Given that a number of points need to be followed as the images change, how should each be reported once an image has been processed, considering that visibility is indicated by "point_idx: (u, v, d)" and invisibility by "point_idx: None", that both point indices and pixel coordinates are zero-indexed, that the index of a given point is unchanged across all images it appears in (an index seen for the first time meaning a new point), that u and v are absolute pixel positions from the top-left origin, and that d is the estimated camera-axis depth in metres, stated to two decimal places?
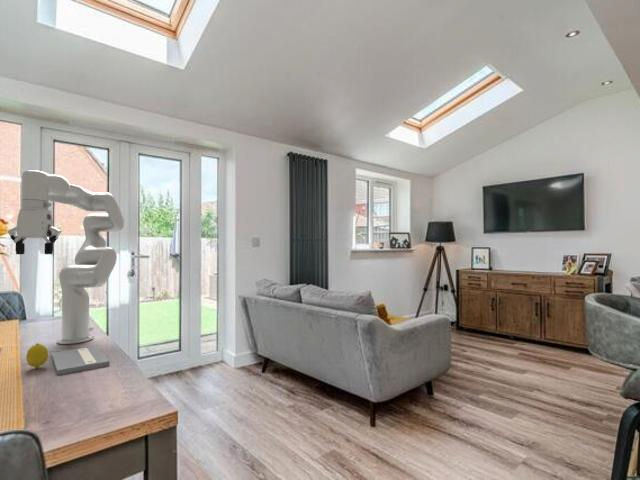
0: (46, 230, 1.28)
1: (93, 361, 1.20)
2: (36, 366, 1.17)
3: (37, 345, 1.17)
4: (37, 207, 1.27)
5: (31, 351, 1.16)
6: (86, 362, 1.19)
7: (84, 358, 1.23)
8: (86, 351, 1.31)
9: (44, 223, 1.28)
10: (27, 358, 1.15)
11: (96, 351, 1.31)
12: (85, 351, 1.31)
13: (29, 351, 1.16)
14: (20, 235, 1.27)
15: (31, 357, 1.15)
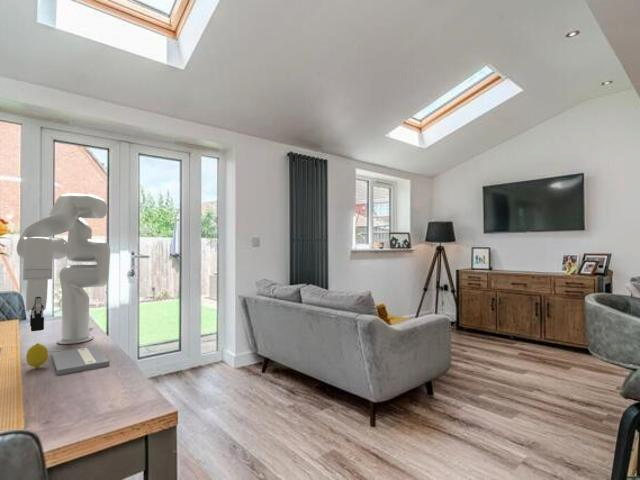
0: None
1: (93, 361, 1.20)
2: (36, 366, 1.17)
3: (37, 345, 1.17)
4: None
5: (31, 351, 1.16)
6: (86, 362, 1.19)
7: (84, 358, 1.23)
8: (86, 351, 1.31)
9: None
10: (27, 358, 1.15)
11: (96, 351, 1.31)
12: (85, 351, 1.31)
13: (29, 351, 1.16)
14: (45, 308, 1.16)
15: (31, 357, 1.15)
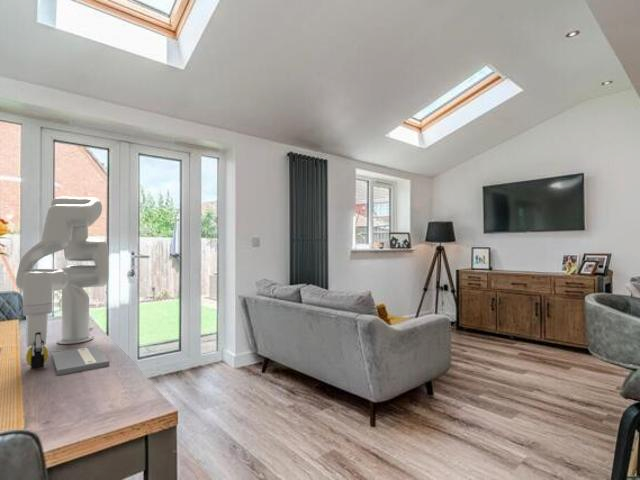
0: None
1: (93, 361, 1.20)
2: None
3: None
4: None
5: (31, 351, 1.16)
6: (86, 362, 1.19)
7: (84, 358, 1.23)
8: (86, 351, 1.31)
9: None
10: (27, 358, 1.15)
11: (96, 351, 1.31)
12: (85, 351, 1.31)
13: (29, 351, 1.16)
14: (45, 342, 1.17)
15: None
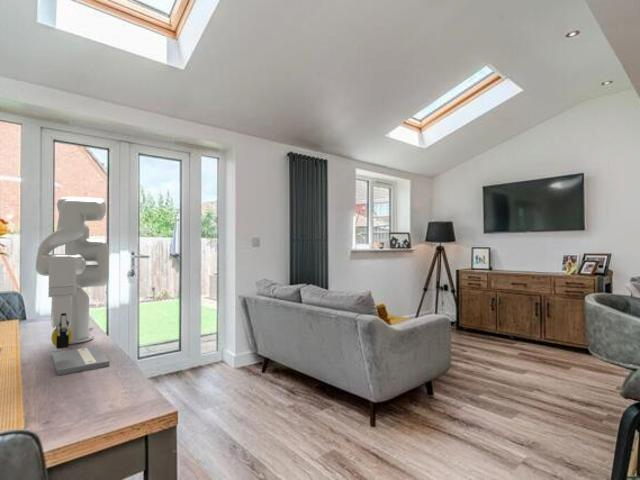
0: None
1: (93, 361, 1.20)
2: None
3: None
4: None
5: (56, 332, 1.20)
6: (86, 362, 1.19)
7: (84, 358, 1.23)
8: (86, 351, 1.31)
9: None
10: (52, 338, 1.19)
11: (96, 351, 1.31)
12: (85, 351, 1.31)
13: (54, 332, 1.20)
14: None
15: None
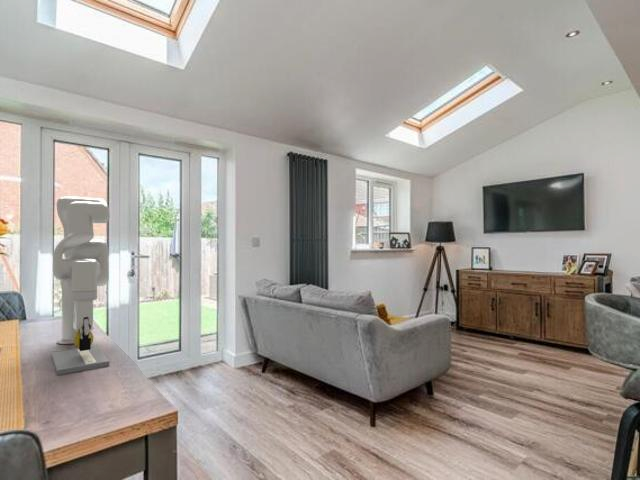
0: None
1: (93, 361, 1.20)
2: None
3: None
4: None
5: (79, 335, 1.24)
6: (86, 362, 1.19)
7: (84, 358, 1.23)
8: (86, 351, 1.31)
9: None
10: (75, 341, 1.24)
11: (96, 351, 1.31)
12: (85, 351, 1.31)
13: (77, 334, 1.24)
14: None
15: None
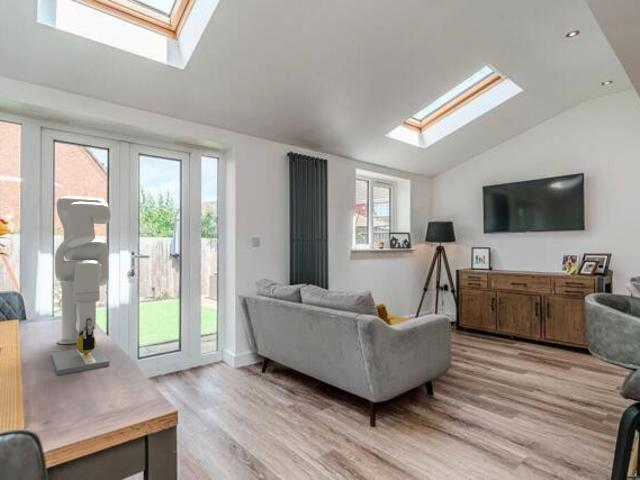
0: None
1: (93, 361, 1.20)
2: (86, 353, 1.26)
3: None
4: None
5: (81, 339, 1.24)
6: (86, 362, 1.19)
7: (84, 358, 1.23)
8: None
9: None
10: (78, 345, 1.24)
11: (96, 351, 1.31)
12: None
13: (79, 339, 1.25)
14: None
15: (82, 344, 1.24)
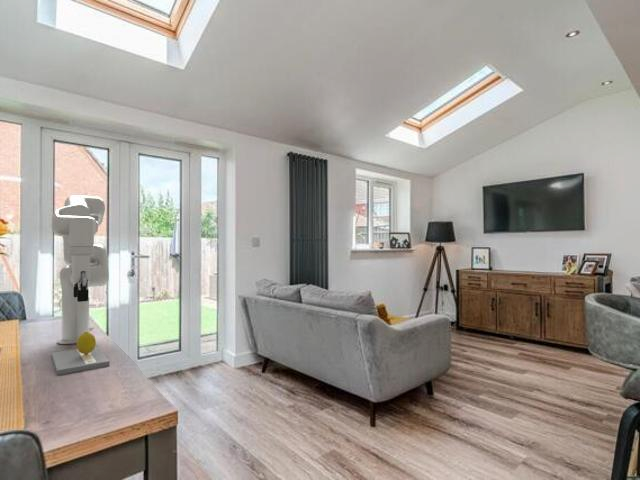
0: None
1: (93, 361, 1.20)
2: (86, 353, 1.26)
3: (86, 333, 1.26)
4: None
5: (81, 339, 1.24)
6: (86, 362, 1.19)
7: (84, 358, 1.23)
8: None
9: None
10: (78, 345, 1.24)
11: (96, 351, 1.31)
12: None
13: (79, 339, 1.25)
14: None
15: (82, 344, 1.24)
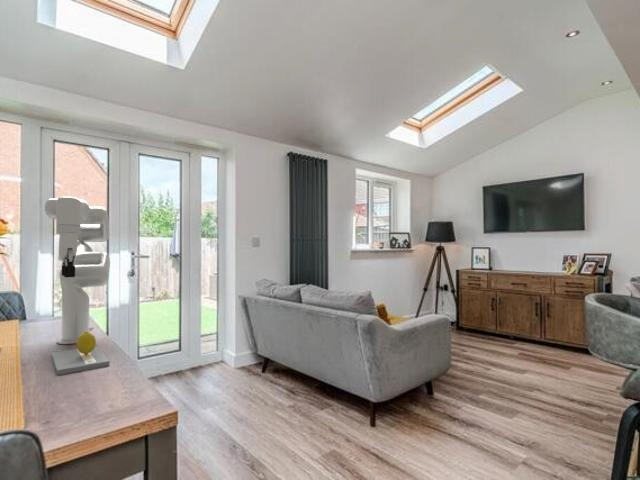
0: None
1: (93, 361, 1.20)
2: (86, 353, 1.26)
3: (86, 333, 1.26)
4: None
5: (81, 339, 1.24)
6: (86, 362, 1.19)
7: (84, 358, 1.23)
8: None
9: None
10: (78, 345, 1.24)
11: (96, 351, 1.31)
12: None
13: (79, 339, 1.25)
14: (75, 258, 1.34)
15: (82, 344, 1.24)
